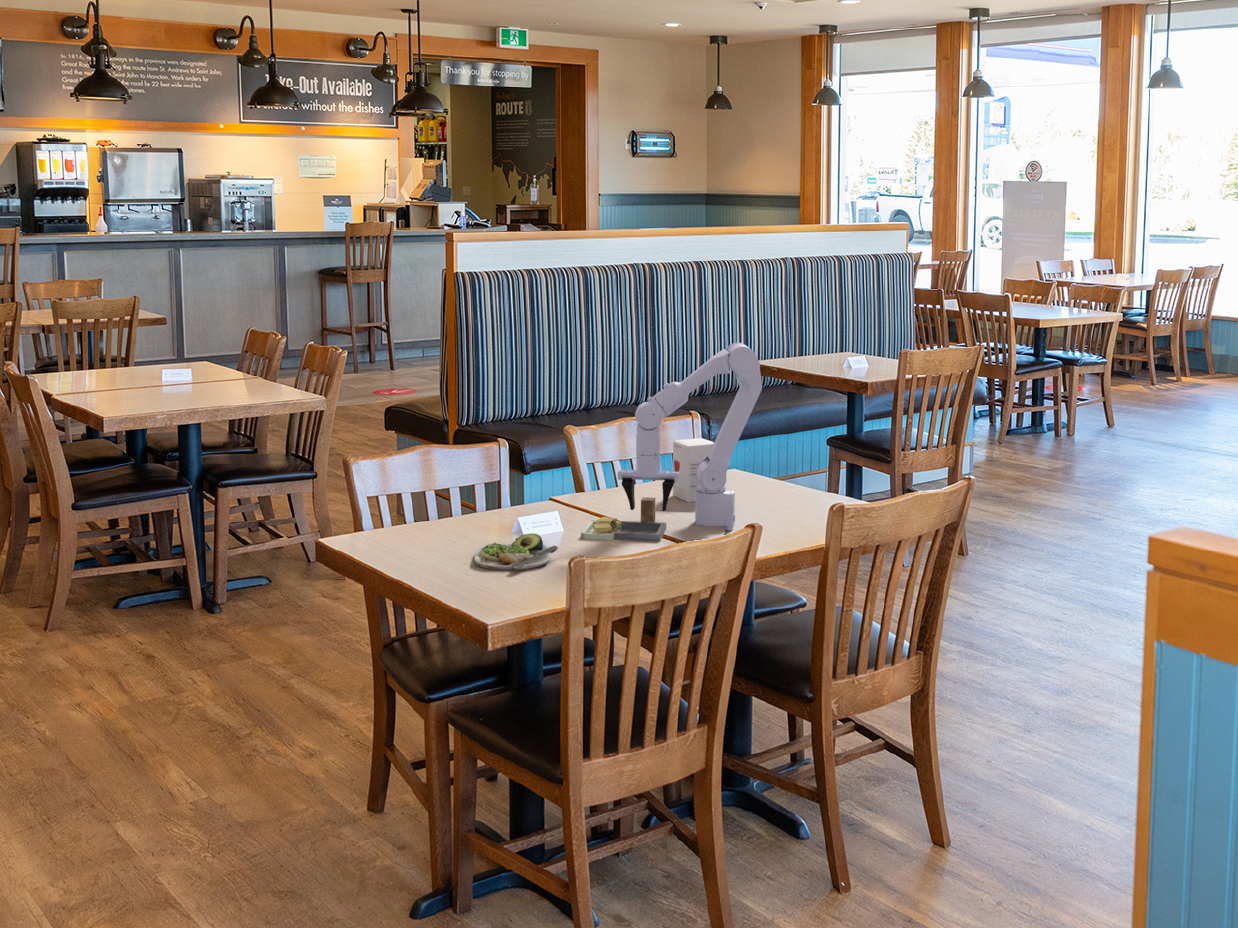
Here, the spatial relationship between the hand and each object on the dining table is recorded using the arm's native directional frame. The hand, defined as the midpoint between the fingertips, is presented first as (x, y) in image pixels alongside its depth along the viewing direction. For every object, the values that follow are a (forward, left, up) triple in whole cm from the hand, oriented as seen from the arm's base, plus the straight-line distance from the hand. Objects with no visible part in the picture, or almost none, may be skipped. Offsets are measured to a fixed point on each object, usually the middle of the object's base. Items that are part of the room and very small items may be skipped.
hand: (648, 509), depth 292 cm
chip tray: (+9, +10, -4) cm, 14 cm away
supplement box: (-7, -32, -5) cm, 33 cm away
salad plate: (+25, +31, -5) cm, 40 cm away
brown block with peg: (0, 0, -4) cm, 4 cm away
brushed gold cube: (+9, +7, -3) cm, 12 cm away
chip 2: (+9, +13, -3) cm, 16 cm away
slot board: (0, +10, -4) cm, 11 cm away
